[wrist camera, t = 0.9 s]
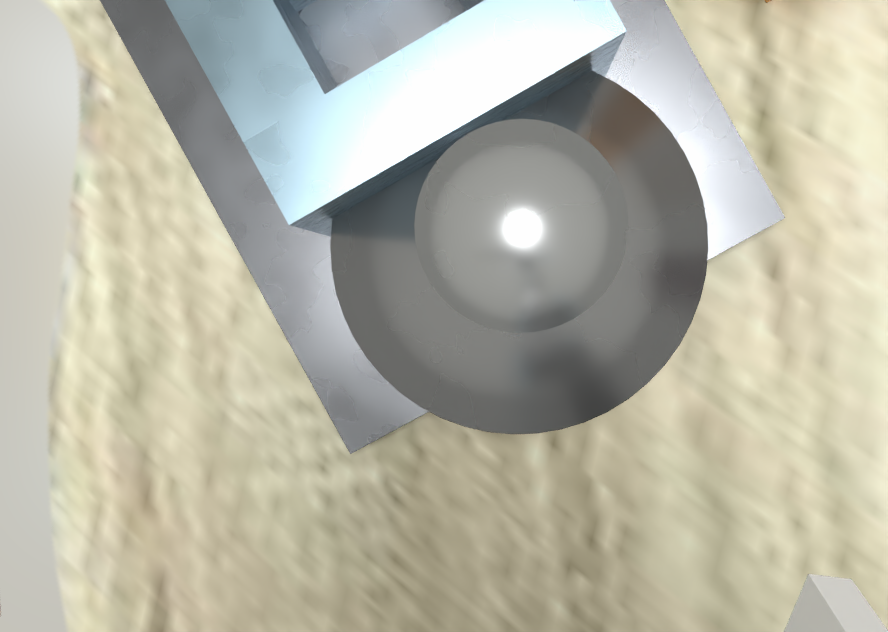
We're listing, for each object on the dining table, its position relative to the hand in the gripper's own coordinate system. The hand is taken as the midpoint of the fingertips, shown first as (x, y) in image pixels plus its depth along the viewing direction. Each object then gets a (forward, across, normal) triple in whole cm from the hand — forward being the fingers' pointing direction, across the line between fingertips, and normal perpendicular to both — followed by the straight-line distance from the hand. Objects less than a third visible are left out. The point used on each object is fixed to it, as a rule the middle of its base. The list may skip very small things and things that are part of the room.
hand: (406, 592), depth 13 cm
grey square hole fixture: (+25, 0, -4) cm, 25 cm away
